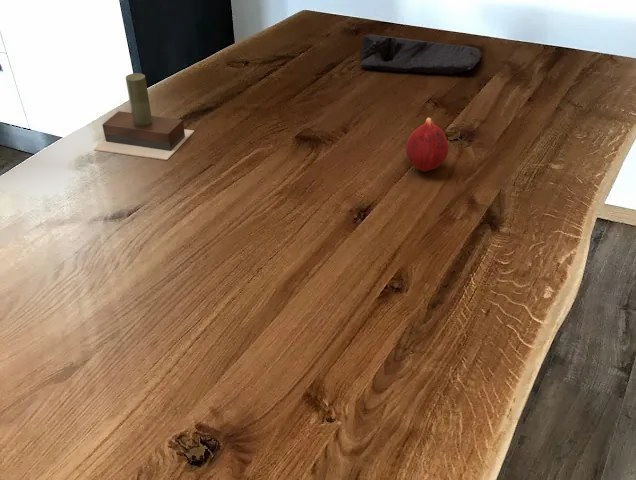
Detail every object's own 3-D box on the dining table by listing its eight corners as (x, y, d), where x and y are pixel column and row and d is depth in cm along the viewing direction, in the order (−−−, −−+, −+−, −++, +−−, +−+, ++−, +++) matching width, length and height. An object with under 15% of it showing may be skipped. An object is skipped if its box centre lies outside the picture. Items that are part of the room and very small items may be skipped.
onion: (453, 174, 104) (460, 121, 99) (422, 185, 102) (428, 131, 96) (426, 158, 108) (432, 106, 103) (396, 168, 105) (400, 116, 100)
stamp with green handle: (105, 141, 112) (92, 78, 106) (121, 127, 115) (110, 66, 109) (171, 151, 109) (161, 87, 103) (185, 136, 113) (177, 74, 107)
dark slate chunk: (472, 84, 129) (475, 57, 126) (352, 69, 134) (353, 43, 131) (484, 54, 140) (488, 28, 137) (373, 42, 146) (374, 17, 143)
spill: (94, 150, 110) (93, 149, 110) (125, 122, 117) (125, 121, 117) (167, 160, 107) (167, 159, 107) (194, 131, 115) (194, 130, 115)
